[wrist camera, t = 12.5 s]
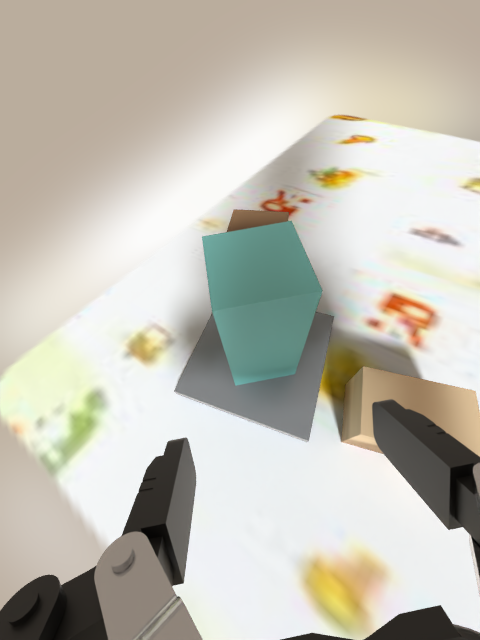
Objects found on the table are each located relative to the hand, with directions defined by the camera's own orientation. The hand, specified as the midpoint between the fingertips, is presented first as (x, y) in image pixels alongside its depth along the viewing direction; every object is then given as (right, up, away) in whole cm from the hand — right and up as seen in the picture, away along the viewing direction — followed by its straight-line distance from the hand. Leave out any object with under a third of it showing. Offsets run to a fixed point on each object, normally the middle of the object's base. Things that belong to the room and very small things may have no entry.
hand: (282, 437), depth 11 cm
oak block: (+8, -2, +7) cm, 11 cm away
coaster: (0, +2, +10) cm, 10 cm away
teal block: (0, +2, +9) cm, 9 cm away
